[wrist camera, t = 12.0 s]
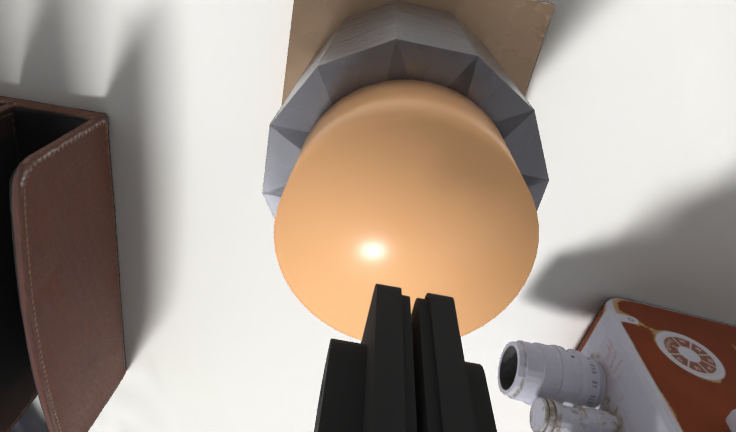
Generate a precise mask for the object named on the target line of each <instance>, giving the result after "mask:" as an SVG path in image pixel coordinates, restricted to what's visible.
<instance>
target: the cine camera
mask: <svg viewBox="0 0 736 432" xmlns="http://www.w3.org/2000/svg"><path fill="white" fill-rule="evenodd" d="M498 384H499V388H500V391H501V392H502V393H503V394H504V395H507V396H508V397H509V398H511V399H514V400H518V401H523V402H524V403H526V404H528V405H532V406H531V411H530V425H531V428H532V430H533V431H534V432H736V326H733V325H729V324H725V323H721V322H717V321H713V320H709V319H705V318H701V317H697V316H693V315H689V314H685V313H681V312H677V311H673V310H668V309H664V308H660V307H656V306H652V305H648V304H644V303H640V302H635V301H631V300H627V299H620V298H613V299H610V300H608V301H607V302H606V303H605V304H604V306H603V307H602V309H601V310H600V312H599V314H598V315H597V317H596V318H595V320H594V322H593V324H592V325H591V327H590V329H589V330H588V332H587V334H586V336H585V337H584V339H583V341H582V342H581V344H580V346H579V348H578V349H577V350H573V349H568V350H565V349H564V348H562V347H561V346H556V345H544V344H540V343H529V342H525V341H517V342H514V341H512V342H509V343H508V344H507V345H506V347H505V348H504V350H503V352H502V355H501V358H500V362H499V367H498Z"/></svg>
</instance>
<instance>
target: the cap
mask: <svg viewBox="0 0 736 432" xmlns="http://www.w3.org/2000/svg"><path fill="white" fill-rule="evenodd" d="M274 242H275V251H276V255H277V259H278V263H279V266H280V269H281V271H282V274H283V276H284V278H285V280H286V282H287V284H288V285H289V287H290V289H291V290H292V292H293V293H294V294H295V296H296V297H297V298H298V300H299V301H300V302H301V303H302V304H303V305H304V306H305V307H306V308H307V309H308V310H309V311H310V312H311V313H312V314H313V315H315V316H316V317H317V318H318V319H320V320H321V321H322V322H324V323H325V324H327V325H329V326H330V327H332V328H334V329H335V330H337V331H339V332H341V333H344V334H346V335H348V336H350V337H353V338H356V339H359V340H362V337H363V333H364V329H365V325H366V320H367V316H368V312H369V308H370V304H371V300H372V296H373V292H374V288H375V285H376V283H377V284H383V285H388V286H394V287H399V288H401V289H402V295H405V296H410V302H411V313H412V310H413V306H414V303H415V300H416V298H422V299H425V296H426V294H427V293H432V294H438V295H444V296H449V297H453V298H454V302H455V308H456V314H457V320H458V326H459V331H460V337H461V336H463V335H466V334H468V333H470V332H472V331H474V330H476V329H478V328H480V327H482V326H483V325H485V324H486V323H488V322H489V321H491V320H492V319H493V318H495V317H496V316H497V315H498V314H500V313H501V312H502V311H503V310H504V309H505V308H506V307H507V306H508V305H509V304H510V303H511V302H512V301H513V299H514V298H515V297H516V296H517V295H518V293H519V292H520V290H521V289H522V287H523V286H524V284H525V282H526V280H527V278H528V276H529V274H530V272H531V270H532V267H533V264H534V261H535V258H536V254H537V248H538V242H539V224H538V217H537V211H536V207H535V204H534V201H533V198H532V195H531V193H530V191H529V189H528V187H527V185H526V183H525V181H524V179H523V177H522V175H521V173H520V171H519V169H518V167H517V165H516V163H515V161H514V159H513V157H512V155H511V153H510V151H509V149H508V147H507V145H506V143H505V141H504V140H503V138H502V136H501V134H500V132H499V130H498V128H497V127H496V126H495V124H494V123H493V121H492V120H491V118H490V117H489V116H488V115H487V114H486V113H485V112H484V111H483V110H482V109H481V108H480V107H479V106H477V105H476V104H475V103H474V102H473V101H471V100H470V99H468V98H467V97H465V96H463V95H462V94H460V93H458V92H457V91H454V90H452V89H449V88H447V87H445V86H442V85H438V84H435V83H431V82H426V81H419V80H392V81H384V82H380V83H376V84H372V85H368V86H366V87H363V88H361V89H358V90H356V91H354V92H352V93H350V94H348V95H347V96H345V97H343V98H341V99H340V100H339V101H338V102H336V103H335V104H334V105H332V106H331V107H330V108H329V109H328V110H327V111H326V112H325V113H324V114H323V115H322V116H321V117H320V118H319V119H318V121H317V122H316V123H315V125H314V126H313V127H312V129H311V131H310V132H309V134H308V136H307V138H306V140H305V142H304V144H303V147H302V149H301V151H300V154H299V156H298V158H297V161H296V163H295V165H294V168H293V170H292V172H291V175H290V177H289V179H288V182H287V184H286V186H285V189H284V191H283V194H282V196H281V199H280V202H279V204H278V208H277V212H276V217H275V224H274Z"/></svg>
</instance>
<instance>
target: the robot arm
mask: <svg viewBox="0 0 736 432" xmlns="http://www.w3.org/2000/svg"><path fill="white" fill-rule="evenodd" d="M314 432H497V430H496V425H495V420H494V415H493V411H492V406H491V401H490V396H489V391H488V387H487V382H486V377H485V373H484V370H483V367H482V366H481V365H480V364H475V363H469V362H465V361H464V355H463V349H462V343H461V337H460V331H459V326H458V320H457V314H456V308H455V302H454V298H453V297H449V296H444V295H438V294H432V293H427V294H426V296H425V299H422V298H416V300H415V303H414V306H413V310H412V313H411V302H410V296H405V295H402V289H401V288H399V287H394V286H388V285H383V284H377V283H376V285H375V288H374V292H373V296H372V300H371V304H370V308H369V312H368V316H367V320H366V325H365V329H364V333H363V337H362V341H361V344H360V343H354V342H348V341H343V340H337V339H331V340H330V345H329V349H328V354H327V359H326V364H325V369H324V374H323V380H322V385H321V391H320V397H319V403H318V409H317V416H316V422H315V429H314Z"/></svg>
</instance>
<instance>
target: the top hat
mask: <svg viewBox="0 0 736 432" xmlns="http://www.w3.org/2000/svg"><path fill="white" fill-rule="evenodd" d="M554 7H555V5H553V4H551V3H549V2H545V1H541V0H294V5H293V13H292V22H291V30H290V39H289V47H288V56H287V64H286V73H285V81H284V90H283V99H282V106H281V108H280V110H279V111H278V113H277V114H276V116H275V117H274V119H273V121H272V122H271V124H270V128H269V137H268V147H267V156H266V165H265V174H264V183H263V193H262V194H263V196H264V198H265V200H266V202H267V204H268V206H269V208H270V210H271V212H272V214H273V216H274V218H275V217H276V212H277V208H278V204H279V202H280V199H281V196H282V194H283V191H284V189H285V186H286V184H287V182H288V179H289V177H290V175H291V172H292V170H293V168H294V165H295V163H296V161H297V158H298V156H299V154H300V151H301V149H302V147H303V144H304V142H305V140H306V138H307V136H308V134H309V132H310V131H311V129H312V127H313V126H314V125H315V123H316V122H317V121H318V119H319V118H320V117H321V116H322V115H323V114H324V113H325V112H326V111H327V110H328V109H329V108H330V107H331V106H332V105H334V104H335V103H336V102H338V101H339V100H340V99H341V98H343V97H345V96H347V95H348V94H350V93H352V92H354V91H356V90H358V89H361V88H363V87H366V86H368V85H372V84H376V83H380V82H384V81H392V80H419V81H426V82H431V83H435V84H438V85H442V86H445V87H447V88H449V89H452V90H454V91H457V92H458V93H460V94H462V95H463V96H465V97H467V98H468V99H470V100H471V101H473V102H474V103H475V104H476V105H477V106H479V107H480V108H481V109H482V110H483V111H484V112H485V113H486V114H487V115H488V116H489V117H490V118H491V120H492V121H493V123H494V124H495V126H496V127H497V128H498V130H499V132H500V134H501V136H502V138H503V140H504V141H505V143H506V145H507V147H508V149H509V151H510V153H511V155H512V157H513V159H514V161H515V163H516V165H517V167H518V169H519V171H520V173H521V175H522V177H523V179H524V181H525V183H526V185H527V187H528V189H529V191H530V193H531V195H532V198H533V201H534V204H535V207H536V211H537V210H538V207H539V204H540V202H541V199H542V197H543V194H544V192H545V189H546V186H547V184H548V181H549V178H548V173H547V169H546V164H545V159H544V154H543V149H542V145H541V140H540V135H539V130H538V126H537V121H536V116H535V110H534V109H533V108H532V106H531V105H530V104H529V102H528V101H527V100H526V98H525V97H524V96H525V93H526V90H527V87H528V84H529V81H530V78H531V76H532V73H533V70H534V67H535V64H536V61H537V58H538V55H539V52H540V49H541V46H542V43H543V40H544V37H545V34H546V31H547V28H548V25H549V22H550V19H551V16H552V13H553V10H554Z"/></svg>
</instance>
